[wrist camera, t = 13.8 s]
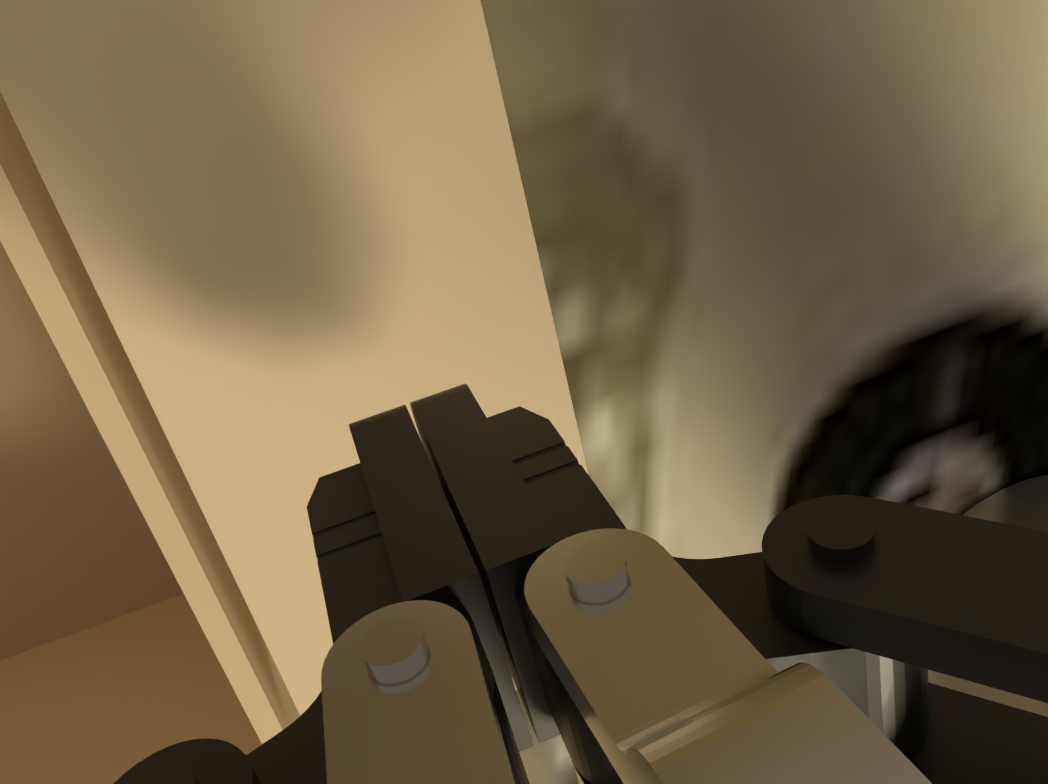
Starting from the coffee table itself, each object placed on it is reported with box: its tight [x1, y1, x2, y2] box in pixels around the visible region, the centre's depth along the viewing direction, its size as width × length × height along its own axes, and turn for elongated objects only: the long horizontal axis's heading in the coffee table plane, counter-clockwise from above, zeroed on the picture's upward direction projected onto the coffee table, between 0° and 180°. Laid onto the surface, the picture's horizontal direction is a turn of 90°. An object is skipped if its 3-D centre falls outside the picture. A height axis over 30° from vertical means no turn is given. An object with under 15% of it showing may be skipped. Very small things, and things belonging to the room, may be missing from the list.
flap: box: [0, 0, 588, 716], centre depth 14 cm, size 1×13×6 cm
